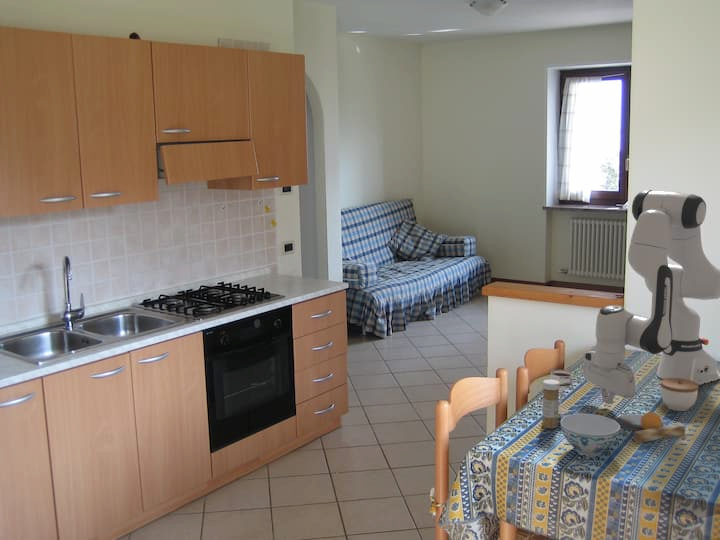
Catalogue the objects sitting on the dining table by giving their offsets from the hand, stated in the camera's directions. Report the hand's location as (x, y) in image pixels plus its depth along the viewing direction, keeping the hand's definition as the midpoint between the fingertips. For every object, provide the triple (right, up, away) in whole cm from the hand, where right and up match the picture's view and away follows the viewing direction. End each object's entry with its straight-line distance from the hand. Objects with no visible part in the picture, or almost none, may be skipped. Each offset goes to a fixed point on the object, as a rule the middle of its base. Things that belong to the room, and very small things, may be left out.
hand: (607, 402), depth 236 cm
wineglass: (-15, -2, -2) cm, 15 cm away
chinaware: (-15, -8, -32) cm, 36 cm away
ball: (+6, -2, -19) cm, 20 cm away
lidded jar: (+22, -2, 0) cm, 22 cm away
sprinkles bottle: (-21, -5, -14) cm, 26 cm away
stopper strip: (+7, -6, -23) cm, 25 cm away
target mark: (+5, -4, -13) cm, 14 cm away
